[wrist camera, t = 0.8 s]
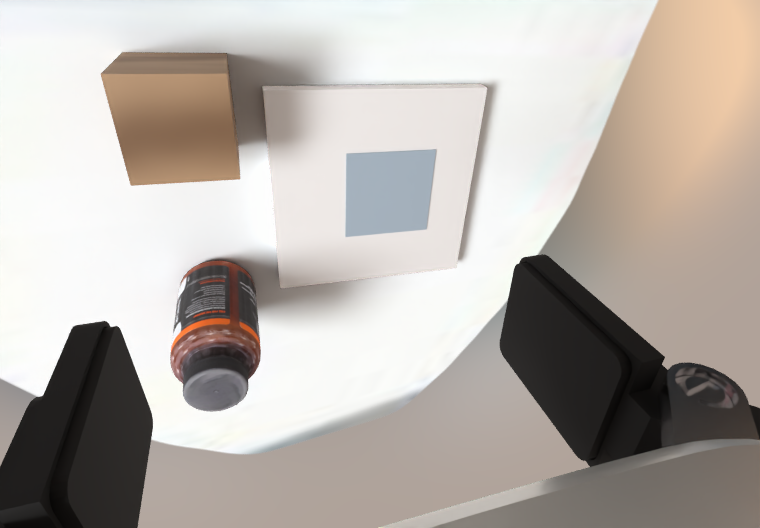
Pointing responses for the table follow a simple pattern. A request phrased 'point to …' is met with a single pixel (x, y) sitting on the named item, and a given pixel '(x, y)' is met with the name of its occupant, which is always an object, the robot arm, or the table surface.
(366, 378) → the table surface
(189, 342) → the supplement bottle
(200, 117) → the walnut cube
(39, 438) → the robot arm
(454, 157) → the plate
